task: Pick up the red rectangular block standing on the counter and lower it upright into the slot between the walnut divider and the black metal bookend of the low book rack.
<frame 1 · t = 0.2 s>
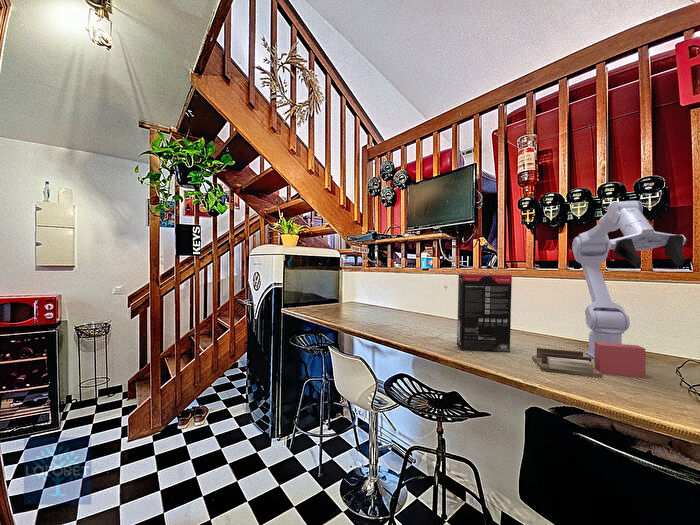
hand: (659, 264, 71), 31 cm above the table, tool tilted 45°, fingers open, 7 cm apart
red rectangular block: (618, 373, 83), on the table
book rack: (564, 367, 87), on the table
graphics card box: (483, 350, 106), on the table
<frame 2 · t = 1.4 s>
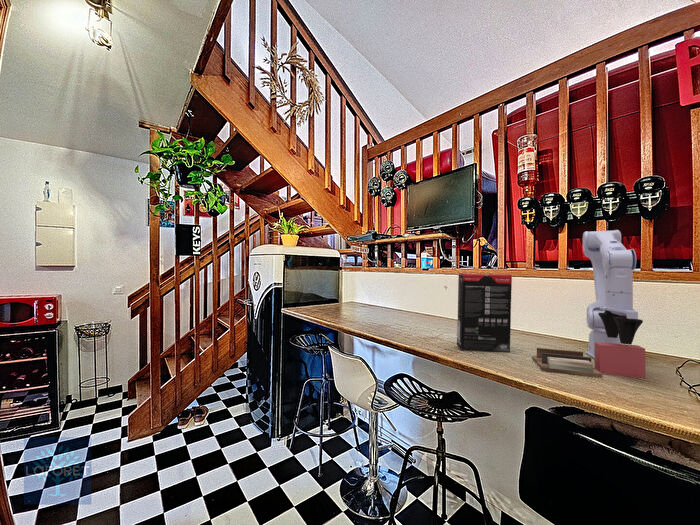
hand: (618, 340, 83), 9 cm above the table, tool pointing down, fingers open, 7 cm apart
nothing on the table moved.
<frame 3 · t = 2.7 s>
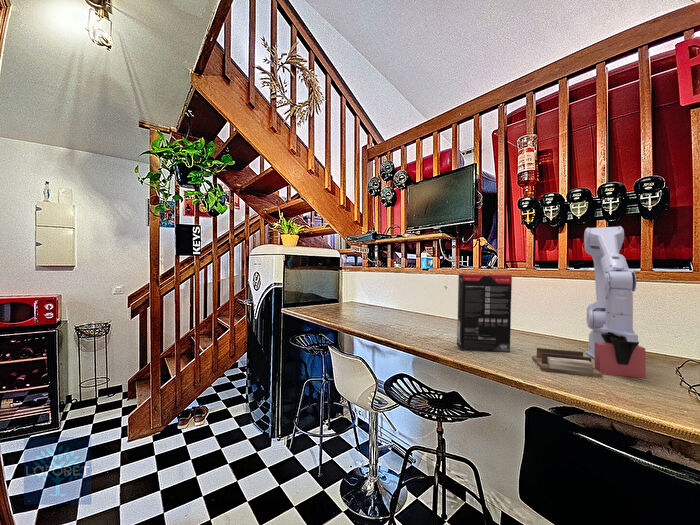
hand: (618, 361, 83), 3 cm above the table, tool pointing down, fingers closed on red rectangular block, 3 cm apart
red rectangular block: (619, 373, 83), on the table, touching gripper
everything else where it was.
when the fingers open (5 cm above the table, at t = 6.6 s): red rectangular block stays where it is, resting on book rack.
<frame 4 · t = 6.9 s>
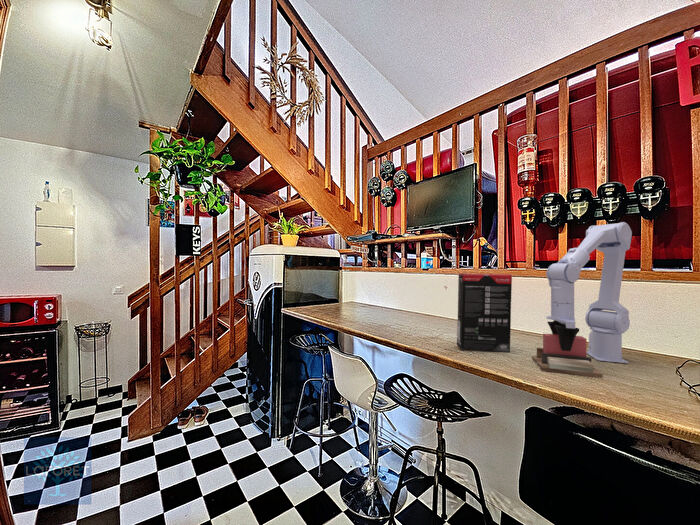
hand: (562, 347, 89), 5 cm above the table, tool pointing down, fingers open, 5 cm apart
red rectangular block: (563, 362, 89), point 1 cm above the table, touching book rack
everything else where it was.
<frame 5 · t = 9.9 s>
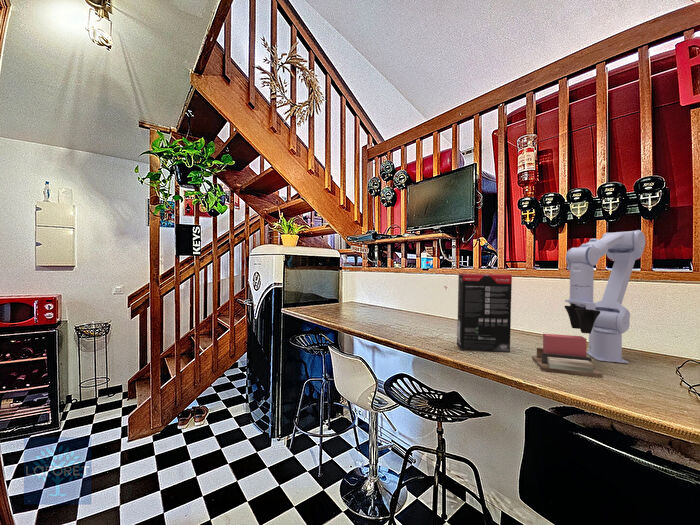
hand: (580, 330, 90), 10 cm above the table, tool pointing down, fingers open, 7 cm apart
nothing on the table moved.
at the end: red rectangular block inside the target area on the book rack (0.4 cm from its centre), point 1.0 cm above the book rack's base; red rectangular block tilted 0°; the gripper is holding nothing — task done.
